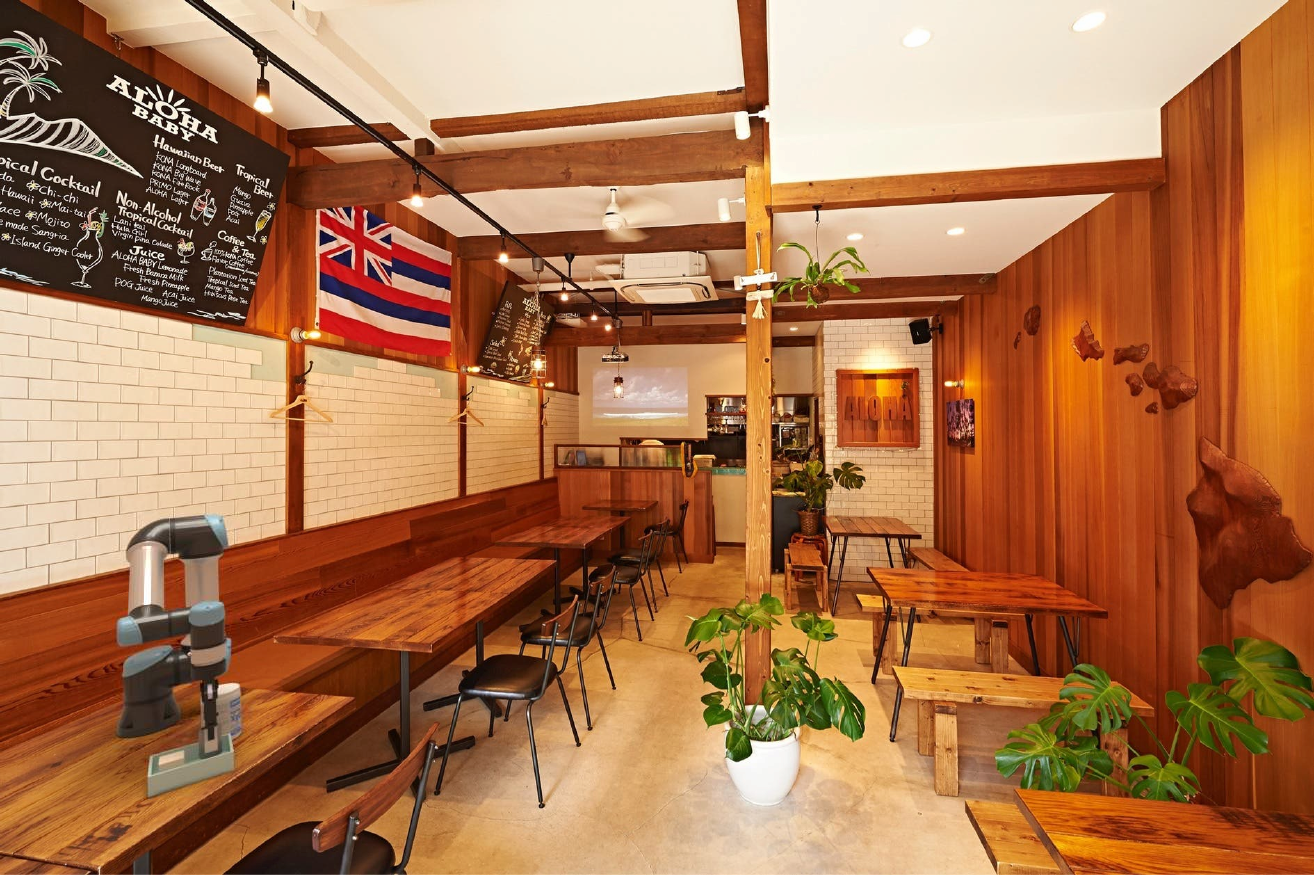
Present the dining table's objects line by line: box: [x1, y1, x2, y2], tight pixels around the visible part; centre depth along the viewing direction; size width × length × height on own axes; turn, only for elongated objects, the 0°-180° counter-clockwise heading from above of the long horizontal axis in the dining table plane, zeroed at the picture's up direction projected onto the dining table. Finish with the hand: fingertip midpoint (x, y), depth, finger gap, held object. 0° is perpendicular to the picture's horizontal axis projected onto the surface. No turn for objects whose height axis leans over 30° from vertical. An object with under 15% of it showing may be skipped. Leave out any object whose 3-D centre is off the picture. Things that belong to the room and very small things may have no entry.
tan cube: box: [159, 750, 185, 773], centre depth 149 cm, size 5×5×5 cm
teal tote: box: [147, 733, 235, 798], centre depth 152 cm, size 13×17×5 cm
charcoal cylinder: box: [198, 724, 223, 759], centre depth 154 cm, size 5×5×7 cm
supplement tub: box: [200, 682, 243, 741], centre depth 169 cm, size 10×10×15 cm
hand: (210, 746), depth 154 cm, fingers closed on charcoal cylinder, 5 cm apart
